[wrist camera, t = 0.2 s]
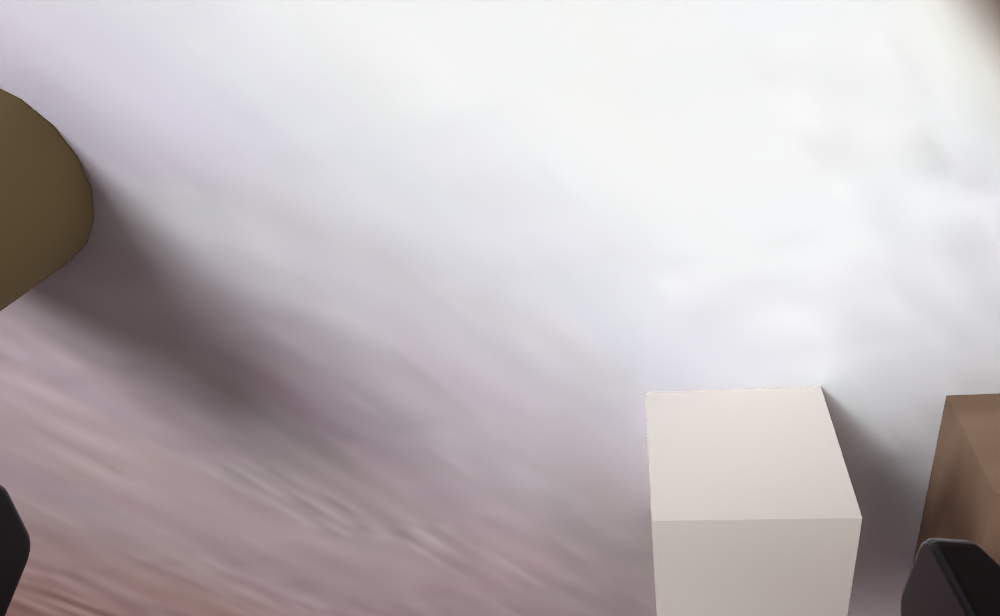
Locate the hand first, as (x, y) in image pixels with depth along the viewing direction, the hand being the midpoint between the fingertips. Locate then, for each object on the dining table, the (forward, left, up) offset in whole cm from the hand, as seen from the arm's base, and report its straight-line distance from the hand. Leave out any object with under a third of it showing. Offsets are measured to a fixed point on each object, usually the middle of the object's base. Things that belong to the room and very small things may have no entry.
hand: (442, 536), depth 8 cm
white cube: (-13, -5, -14) cm, 20 cm away
